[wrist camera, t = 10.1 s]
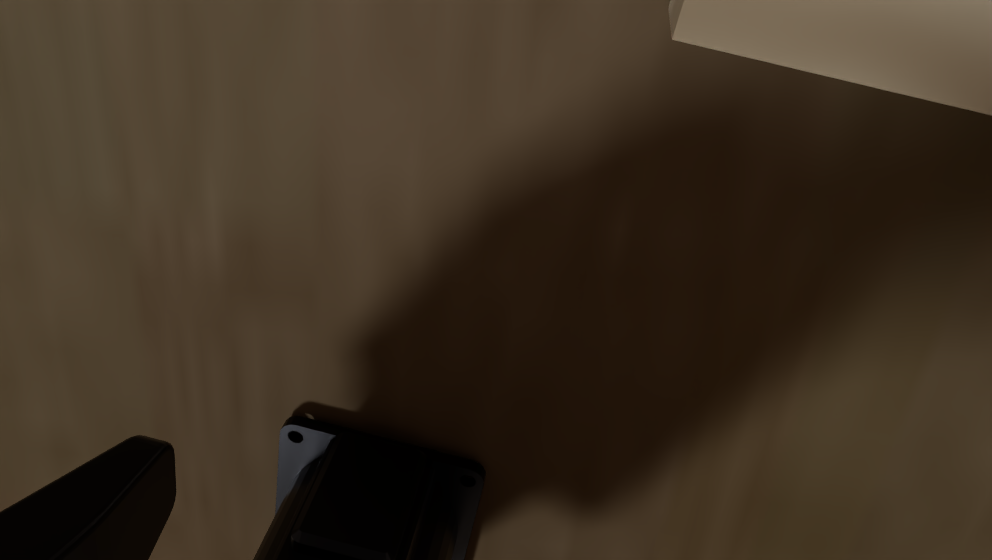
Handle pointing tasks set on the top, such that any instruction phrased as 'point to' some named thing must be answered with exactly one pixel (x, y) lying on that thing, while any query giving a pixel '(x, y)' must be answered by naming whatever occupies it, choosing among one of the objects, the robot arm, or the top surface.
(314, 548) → the robot arm
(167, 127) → the top surface
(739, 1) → the stand
